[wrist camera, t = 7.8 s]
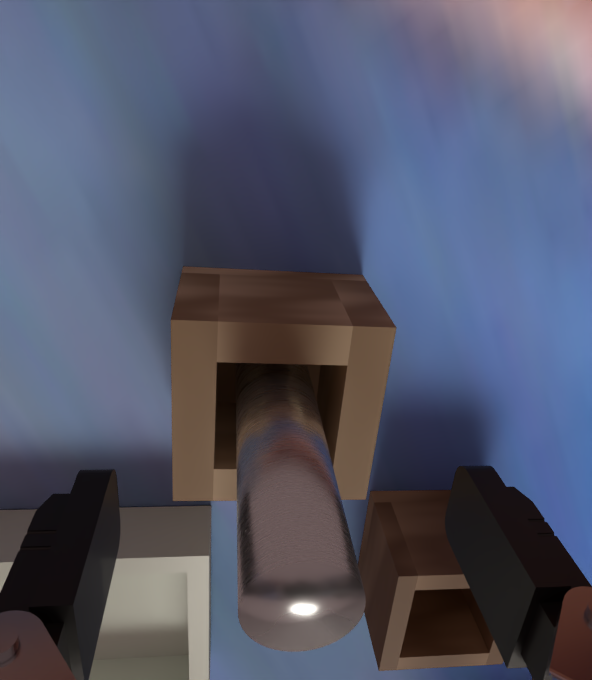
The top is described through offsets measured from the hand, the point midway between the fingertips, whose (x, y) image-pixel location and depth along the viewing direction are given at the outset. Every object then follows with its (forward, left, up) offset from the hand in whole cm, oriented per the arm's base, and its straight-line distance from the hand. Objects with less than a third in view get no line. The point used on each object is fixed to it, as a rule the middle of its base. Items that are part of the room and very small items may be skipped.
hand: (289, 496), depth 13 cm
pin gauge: (0, 0, -7) cm, 7 cm away
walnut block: (-7, +9, -8) cm, 14 cm away
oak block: (0, 0, -8) cm, 8 cm away
